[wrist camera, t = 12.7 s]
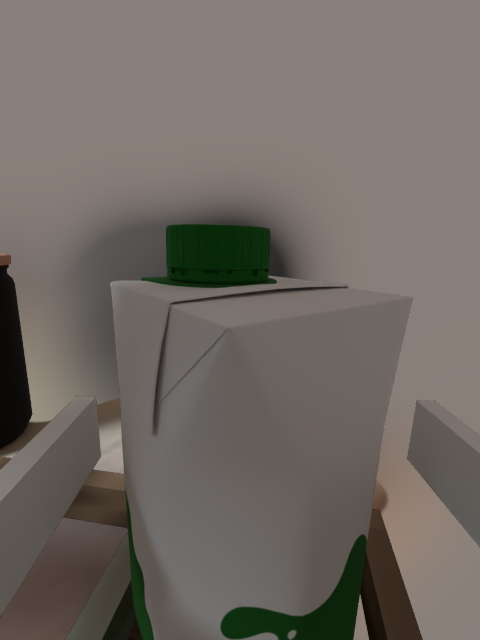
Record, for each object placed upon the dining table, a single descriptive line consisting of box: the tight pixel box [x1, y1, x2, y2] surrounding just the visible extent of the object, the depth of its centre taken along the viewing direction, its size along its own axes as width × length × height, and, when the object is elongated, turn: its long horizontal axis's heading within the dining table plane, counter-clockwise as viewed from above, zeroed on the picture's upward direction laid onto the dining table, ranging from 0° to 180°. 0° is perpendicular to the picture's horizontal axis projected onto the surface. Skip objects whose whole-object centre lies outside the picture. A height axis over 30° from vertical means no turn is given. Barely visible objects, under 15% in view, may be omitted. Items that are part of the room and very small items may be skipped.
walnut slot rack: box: [0, 457, 423, 640], centre depth 16 cm, size 28×15×3 cm, turn 81°
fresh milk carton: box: [110, 224, 413, 640], centre depth 13 cm, size 9×9×20 cm
